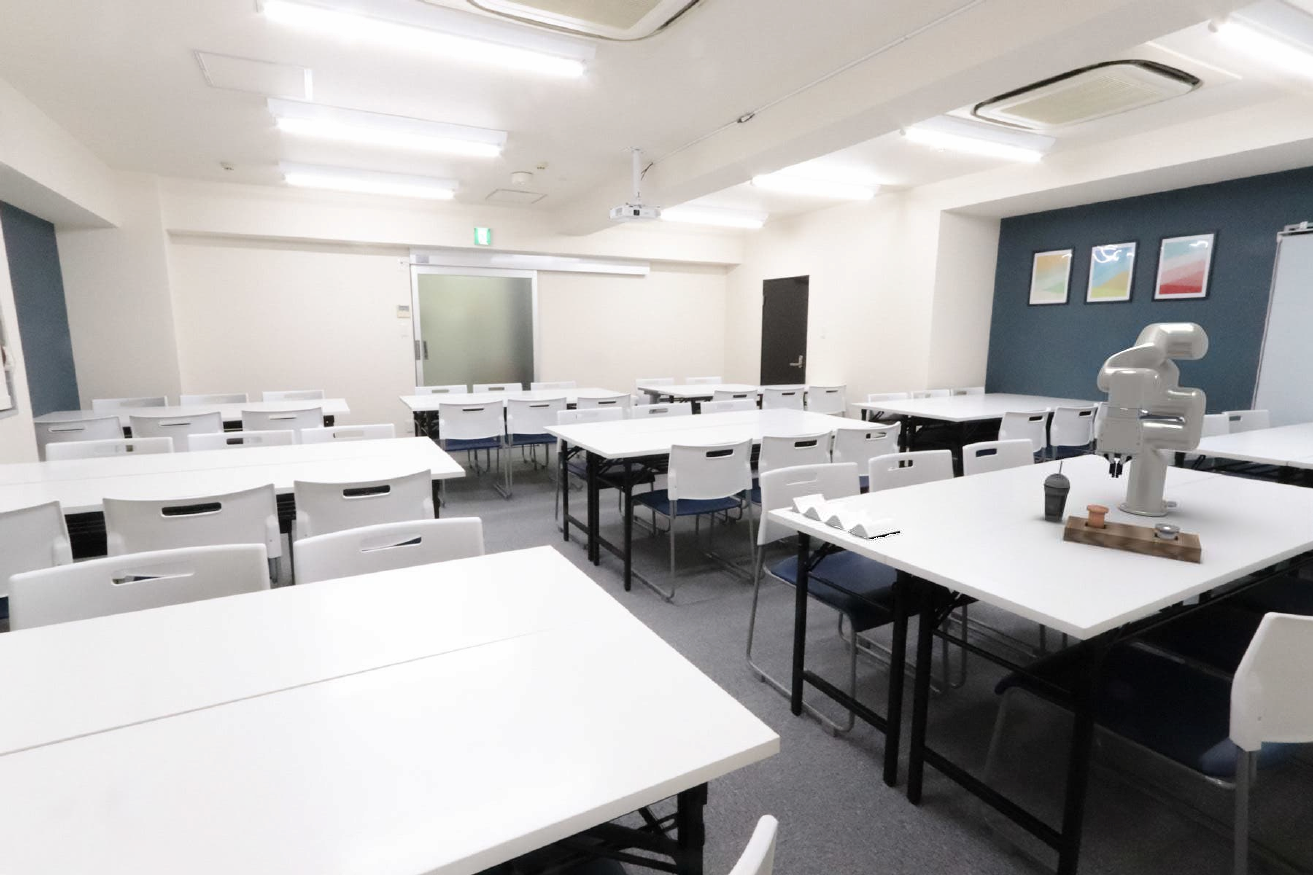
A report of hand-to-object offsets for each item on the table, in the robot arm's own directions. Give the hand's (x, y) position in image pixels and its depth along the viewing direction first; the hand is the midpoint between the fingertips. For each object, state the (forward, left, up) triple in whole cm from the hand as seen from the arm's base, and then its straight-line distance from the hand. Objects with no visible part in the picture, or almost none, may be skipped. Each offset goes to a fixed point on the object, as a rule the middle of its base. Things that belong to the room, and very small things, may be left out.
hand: (1114, 476), depth 173 cm
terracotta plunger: (+2, -2, -16) cm, 16 cm away
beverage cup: (+4, -19, -19) cm, 28 cm away
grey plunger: (-11, +7, -19) cm, 23 cm away
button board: (-4, +3, -19) cm, 20 cm away
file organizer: (+72, -17, -20) cm, 76 cm away
